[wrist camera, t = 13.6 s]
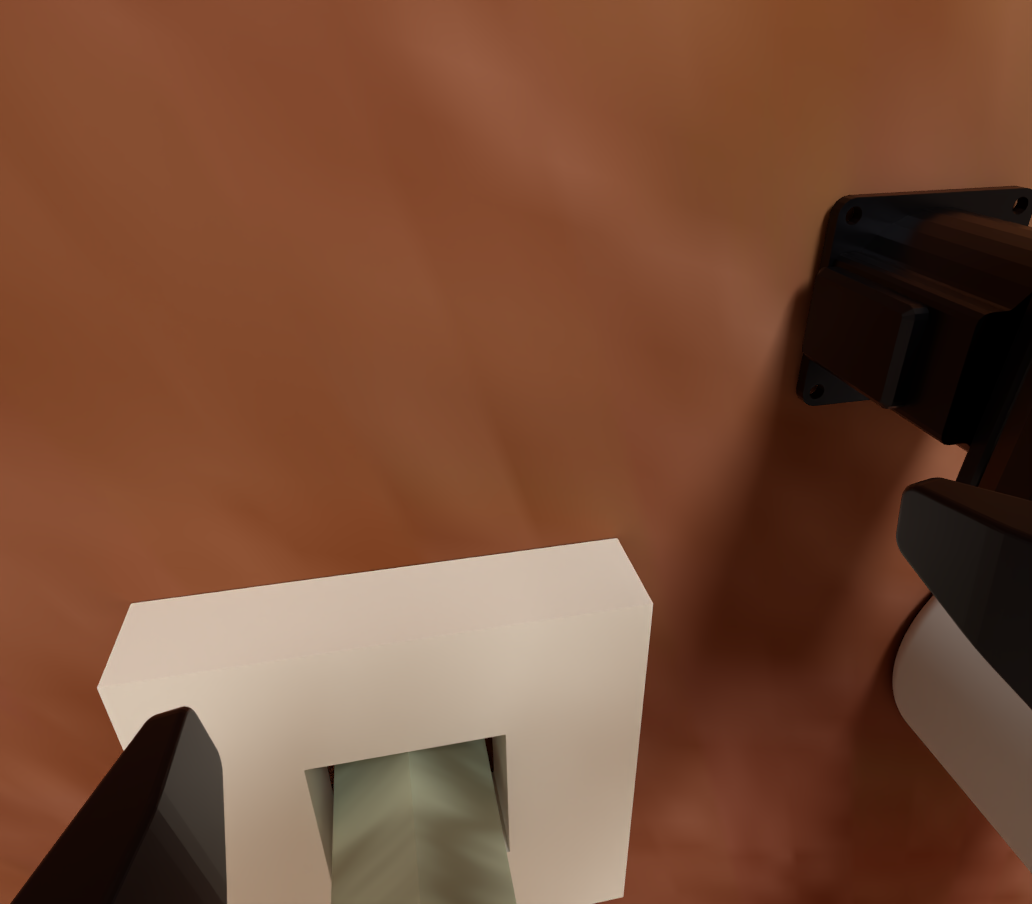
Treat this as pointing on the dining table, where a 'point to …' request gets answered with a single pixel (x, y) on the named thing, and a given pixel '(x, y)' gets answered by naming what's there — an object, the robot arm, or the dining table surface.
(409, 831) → the peg
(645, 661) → the socket block
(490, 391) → the dining table surface
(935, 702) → the cylinder vase
